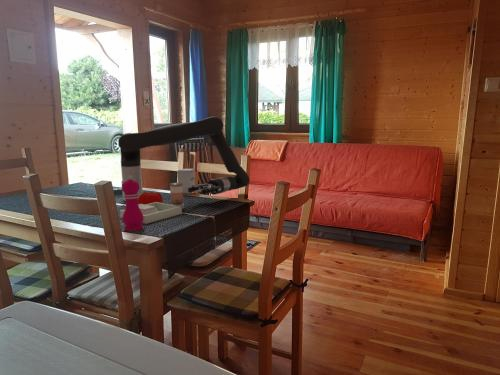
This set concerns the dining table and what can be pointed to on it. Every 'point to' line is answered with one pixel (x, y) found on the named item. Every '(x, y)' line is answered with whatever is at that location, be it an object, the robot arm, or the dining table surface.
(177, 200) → the clear lidded jar
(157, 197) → the tomato
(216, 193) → the robot arm
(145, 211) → the off-white tapered piece
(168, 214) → the tote
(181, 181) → the supplement box
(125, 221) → the pepper mill
